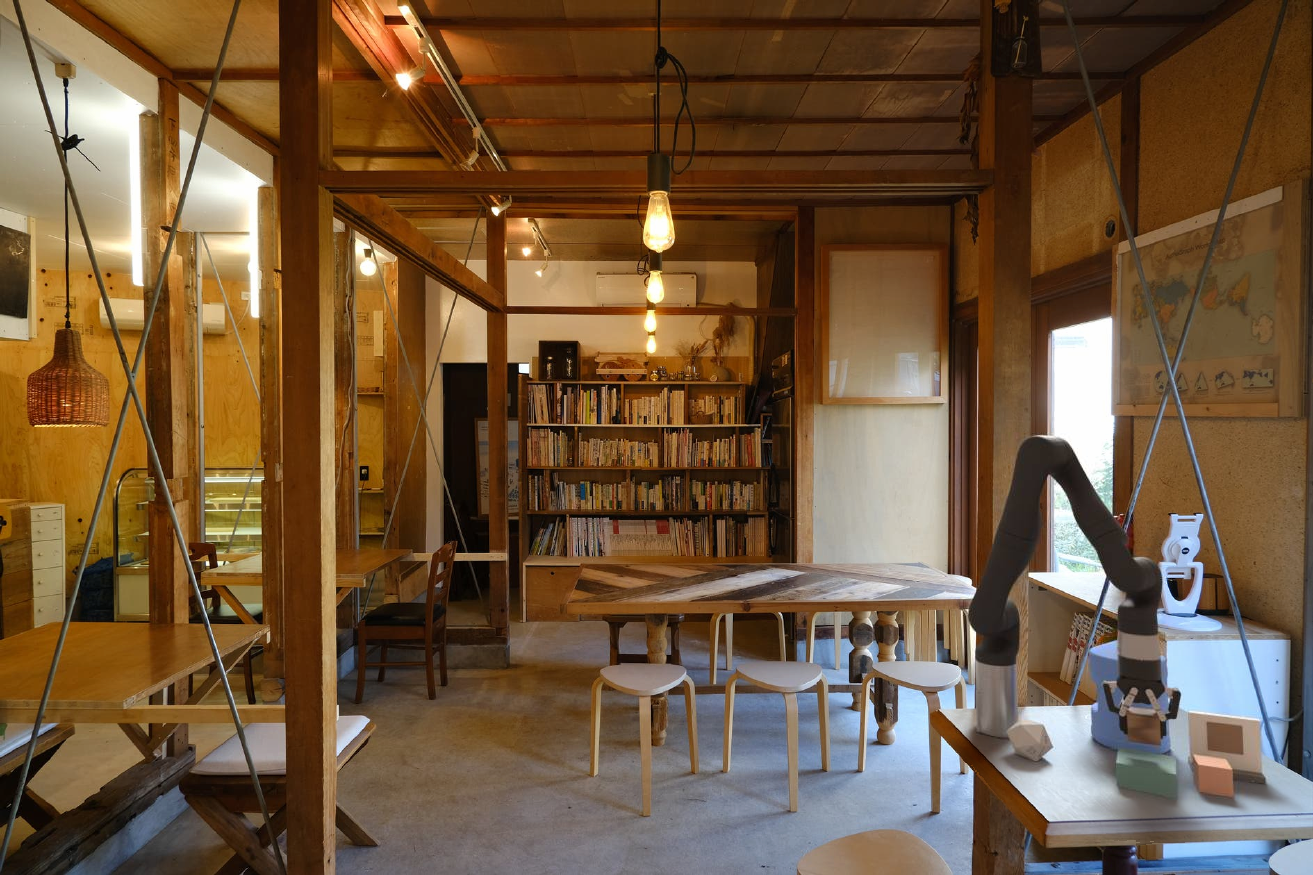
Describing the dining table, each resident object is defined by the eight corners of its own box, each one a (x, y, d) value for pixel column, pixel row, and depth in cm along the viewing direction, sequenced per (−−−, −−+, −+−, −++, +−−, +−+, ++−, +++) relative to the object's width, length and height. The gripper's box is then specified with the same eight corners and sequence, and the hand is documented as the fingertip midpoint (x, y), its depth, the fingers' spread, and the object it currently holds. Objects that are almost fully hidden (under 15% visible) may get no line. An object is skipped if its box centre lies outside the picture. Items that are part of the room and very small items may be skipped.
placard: (1193, 772, 152) (1191, 715, 152) (1188, 761, 157) (1186, 707, 157) (1265, 783, 146) (1263, 724, 146) (1257, 772, 151) (1255, 715, 152)
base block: (1116, 787, 146) (1116, 762, 147) (1119, 769, 155) (1118, 746, 155) (1177, 799, 141) (1176, 774, 141) (1176, 780, 149) (1175, 756, 149)
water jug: (1186, 749, 163) (1181, 627, 164) (1140, 761, 158) (1135, 634, 158) (1120, 726, 178) (1116, 613, 179) (1076, 736, 172) (1072, 620, 173)
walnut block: (1128, 741, 147) (1127, 714, 147) (1125, 732, 152) (1124, 706, 152) (1160, 745, 145) (1159, 718, 145) (1156, 736, 150) (1155, 709, 150)
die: (1017, 766, 158) (1046, 736, 155) (992, 734, 165) (1019, 705, 162) (1039, 772, 161) (1068, 743, 158) (1014, 741, 168) (1040, 712, 166)
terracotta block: (1199, 791, 143) (1198, 764, 144) (1193, 780, 148) (1192, 754, 148) (1233, 797, 141) (1232, 769, 141) (1226, 786, 146) (1225, 758, 146)
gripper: (1177, 652, 149) (1181, 734, 149) (1097, 645, 156) (1100, 724, 155) (1184, 662, 142) (1188, 747, 142) (1100, 654, 149) (1103, 736, 148)
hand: (1142, 734), depth 148 cm, fingers closed on walnut block, 5 cm apart
